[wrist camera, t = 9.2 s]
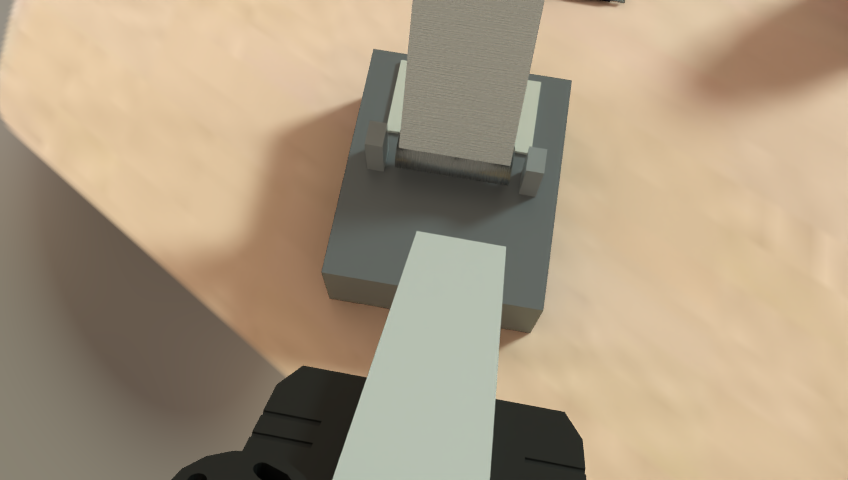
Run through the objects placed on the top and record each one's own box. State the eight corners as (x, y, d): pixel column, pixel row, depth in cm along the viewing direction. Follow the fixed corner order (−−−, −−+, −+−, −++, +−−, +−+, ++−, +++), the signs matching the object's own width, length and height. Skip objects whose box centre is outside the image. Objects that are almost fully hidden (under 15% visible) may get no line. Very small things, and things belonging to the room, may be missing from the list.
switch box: (530, 333, 39) (552, 293, 33) (329, 298, 39) (315, 253, 33) (557, 120, 43) (582, 51, 37) (376, 91, 43) (371, 18, 37)
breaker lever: (511, 195, 36) (568, -74, 28) (388, 175, 36) (413, -97, 28) (513, 170, 37) (568, -91, 30) (396, 151, 37) (421, -113, 30)
